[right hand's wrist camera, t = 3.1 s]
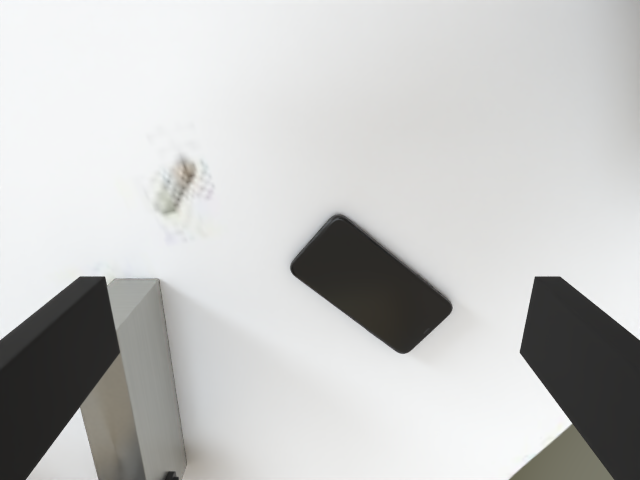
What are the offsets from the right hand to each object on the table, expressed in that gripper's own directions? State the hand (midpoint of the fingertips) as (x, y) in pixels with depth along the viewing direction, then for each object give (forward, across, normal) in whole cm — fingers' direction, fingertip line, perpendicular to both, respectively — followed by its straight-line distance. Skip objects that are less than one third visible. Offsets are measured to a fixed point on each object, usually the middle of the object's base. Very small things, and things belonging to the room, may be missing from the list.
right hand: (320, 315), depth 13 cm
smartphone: (+27, +5, -12) cm, 30 cm away
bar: (+27, -18, -24) cm, 40 cm away
